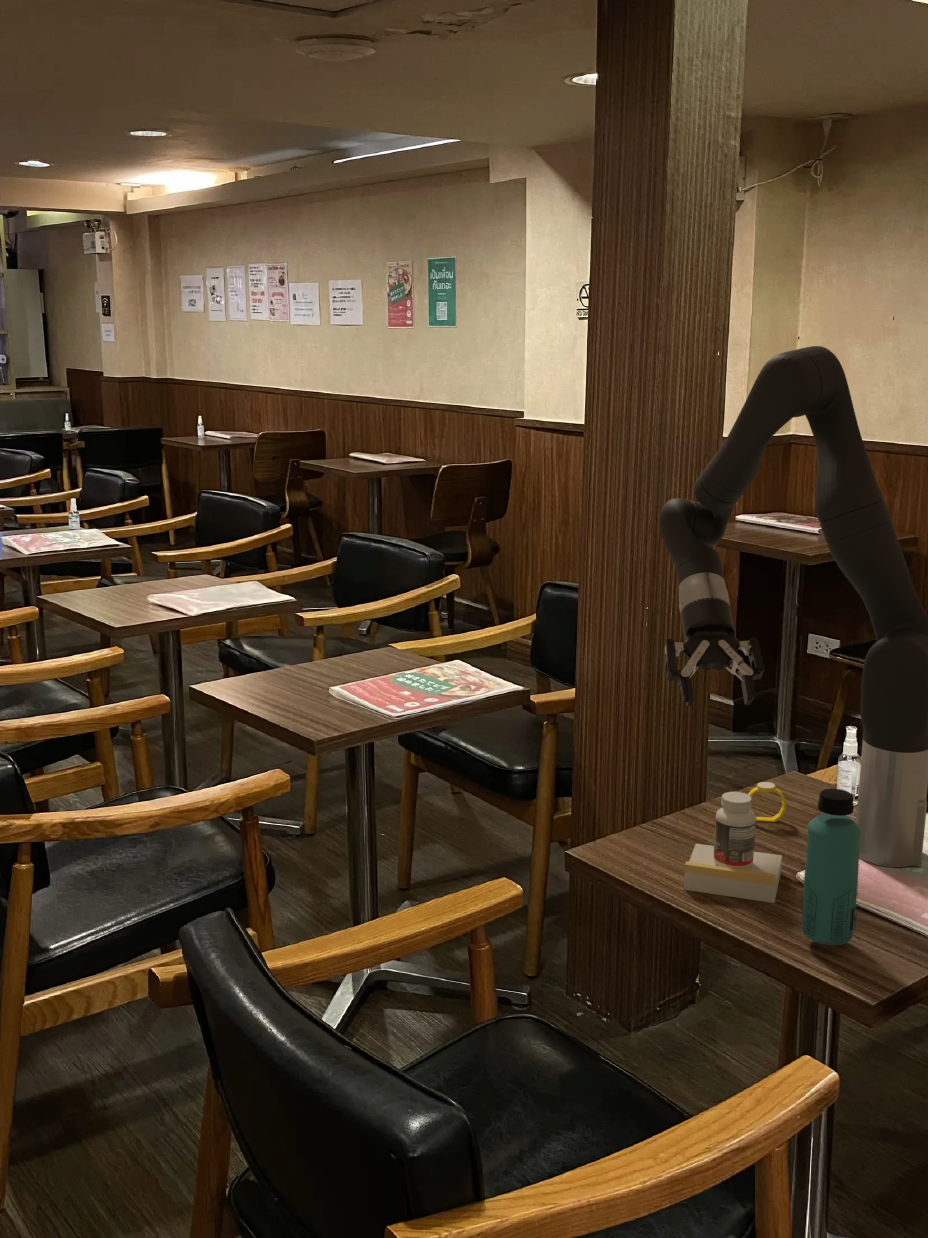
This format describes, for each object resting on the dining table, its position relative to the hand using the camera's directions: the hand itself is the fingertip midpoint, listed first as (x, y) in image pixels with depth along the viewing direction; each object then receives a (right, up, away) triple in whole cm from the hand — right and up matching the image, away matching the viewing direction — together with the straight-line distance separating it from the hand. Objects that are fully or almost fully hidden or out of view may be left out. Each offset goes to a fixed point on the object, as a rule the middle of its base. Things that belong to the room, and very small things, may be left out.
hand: (719, 703), depth 174 cm
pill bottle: (0, -22, -9) cm, 24 cm away
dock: (0, -24, -9) cm, 26 cm away
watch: (+9, -19, +11) cm, 24 cm away
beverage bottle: (+8, -28, -26) cm, 39 cm away
